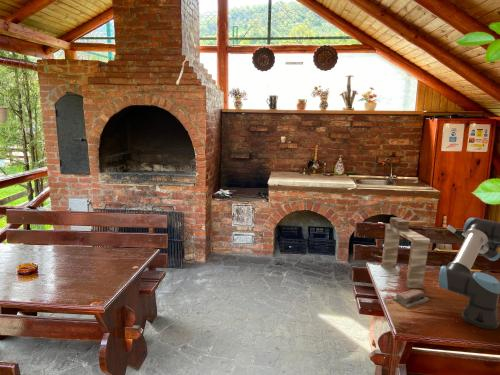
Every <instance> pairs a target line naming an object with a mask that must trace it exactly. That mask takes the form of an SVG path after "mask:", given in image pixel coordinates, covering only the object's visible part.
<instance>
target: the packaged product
mask: <svg viewBox="0 0 500 375" xmlns="http://www.w3.org/2000/svg"><path fill="white" fill-rule="evenodd" d="M425 295H426V293H425V292H424V291H423V290H420V289H417V288H413V289H410V290H407V291H403V292H400V293H397V294H396V296H395V297H393V298H392V300H393V301H395V302H396V303H399V304H400V303H401V305H402V304H403V305H402V306H404V305H405V306H404V307H406V308H411V307H414V306H417V305H420V304H423V303H427V302H429V301H430V298H428V297H427V296H425Z"/></svg>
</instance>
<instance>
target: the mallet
mask: <svg viewBox="0 0 500 375" xmlns="http://www.w3.org/2000/svg"><path fill="white" fill-rule="evenodd" d="M388 224H389V225H391V226H393V227H395V228H396V229H409V226H411V227H413V226H414V227H415V226H419V227H420V226H421V227H423V226H424V227H425V226H427V221H426V220H406V219H405V218H402V217H396V216H395V217H394V216H393V217H390V219H389V223H388Z"/></svg>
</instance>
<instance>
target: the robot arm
mask: <svg viewBox="0 0 500 375" xmlns="http://www.w3.org/2000/svg"><path fill="white" fill-rule="evenodd" d="M446 229H447V230H448V231H450V232H451V234H454V235H456V236H457V237H458V238H460V239H462V240H463V242H462V244H461V246H460V248H459V250H458V251H457V254H456V256H455V257H454V259H453V261H451V262H449V263H447V265H442V266H441V267H440V270H439V273H438V285H439V287H440V288H442V289H444V290H446V291H450V292H452V293H455V294H459V295H460V296H461V295H462V296H464V297H467V298H468V302H467V304H466V305H465V307H464V309H463V310H462V314H461V318H462V319H463V320H464V321H465V322H466V323H468V324H471V326H474V327H476V328H477V327H478V328H480V329H481V328H482V329H484V330H485V329H486V330H496V329H497V328H498V327H499V318H498V313H497V309H498V303H499V298H500V281H499V279H497V278H495V277H494V276H492V275H490V274H487V273H484V272H479V271H478V272H476V271H475V272H473V273H472V271H471V269H472V267H473V266H474V263H475V260H476V258H477V257H478V255H479V254H480V255H482V257H484V258H485V259H487V260H489V261H491V262H495V261H497V260H499V258H500V252H499V251H498V249H499V247H500V222H499V221H493V220H489V219H484V218H480V217H469V218H468V219H467V220H466V221H465V223H464V226H463V229H462V230H463V231H462V232H461V231H459V230H457V229H456V228H455V227H453V226H452V225H450V224H448V225H447V226H446Z"/></svg>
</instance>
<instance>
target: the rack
mask: <svg viewBox="0 0 500 375" xmlns="http://www.w3.org/2000/svg"><path fill="white" fill-rule="evenodd" d="M389 224H390V223H385V230H384V238H383V250H382V256H381V264H380V267H381V268H383V269H394V268H397V260H398V253H399V247H400V246H399V245H400V237H403V238H404V239H406V240H408V241H409V242H411V243H410V251H409V259H408V267H407V272H406V273H407V274H406V281H405V286H406V287H407V288H408V289H412V288H413V289H417V288H419V289H421V288H423V287H424V286H423V285H424V280H425V273H426V266H427V260H428V252H429V251H428V250H429V245H430V242H431V239H430V238H428V237H427V236H424V235H422V234H420V233H419V232H416V231H414V230H412V229H410V228H408V229H396V228H395V227H393V226H391V225H389Z"/></svg>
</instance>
